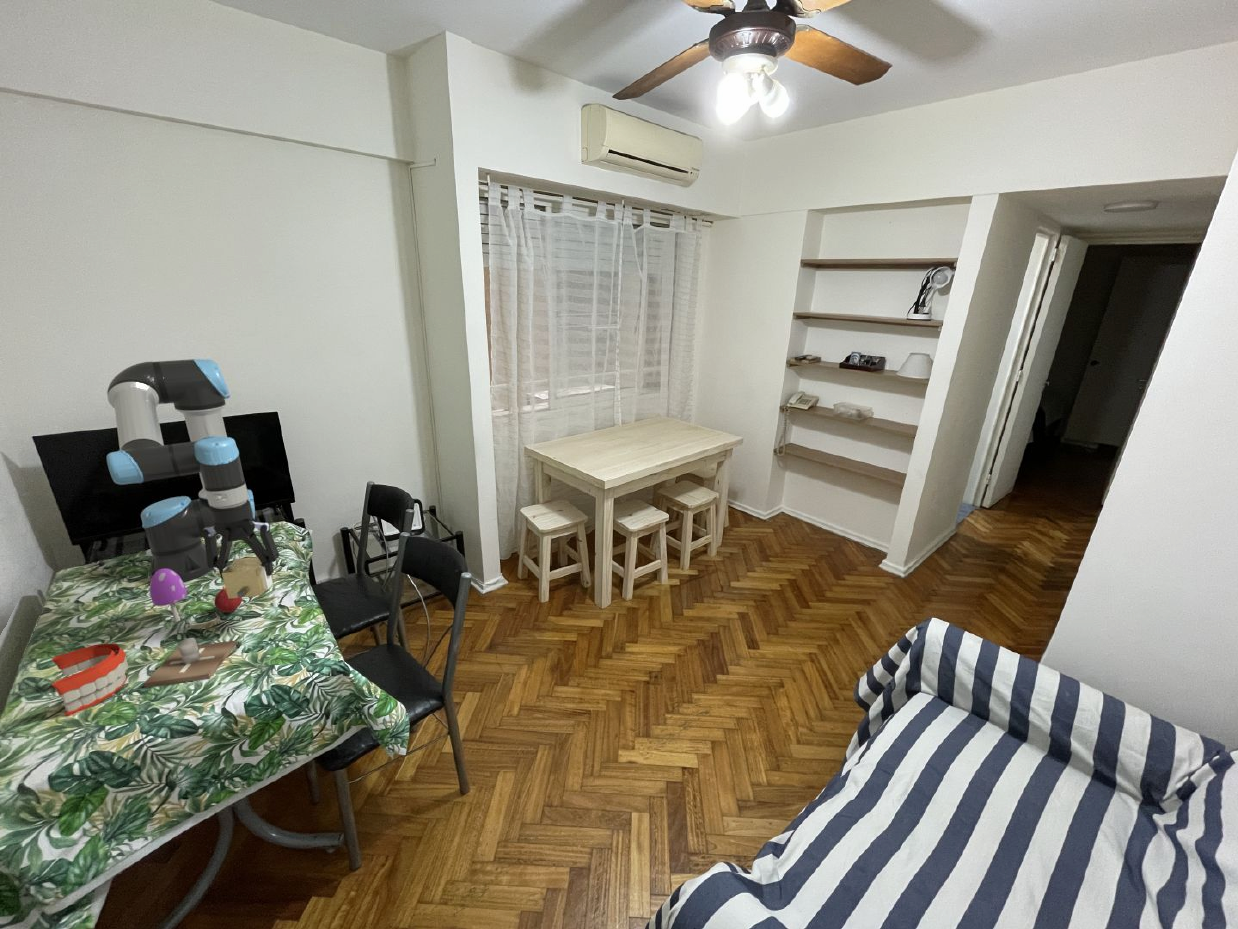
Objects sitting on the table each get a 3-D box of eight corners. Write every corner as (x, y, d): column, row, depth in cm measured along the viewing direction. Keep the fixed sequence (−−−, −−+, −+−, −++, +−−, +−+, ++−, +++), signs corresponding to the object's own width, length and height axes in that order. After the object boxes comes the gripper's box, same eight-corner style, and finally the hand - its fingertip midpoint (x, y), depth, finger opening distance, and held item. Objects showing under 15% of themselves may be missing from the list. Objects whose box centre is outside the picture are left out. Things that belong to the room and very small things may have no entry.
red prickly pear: (249, 609, 133) (242, 583, 131) (224, 620, 129) (216, 594, 126) (238, 603, 136) (232, 578, 134) (214, 614, 132) (206, 588, 129)
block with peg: (245, 580, 127) (239, 556, 125) (275, 577, 128) (270, 553, 126) (225, 602, 117) (218, 576, 115) (258, 598, 119) (252, 573, 117)
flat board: (178, 652, 117) (171, 630, 115) (236, 644, 119) (230, 622, 118) (145, 688, 106) (136, 664, 104) (209, 678, 108) (202, 655, 106)
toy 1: (136, 691, 105) (125, 659, 103) (65, 719, 98) (51, 686, 95) (130, 664, 113) (120, 634, 111) (64, 688, 106) (51, 657, 103)
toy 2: (174, 629, 125) (157, 577, 121) (153, 626, 126) (136, 574, 122) (200, 614, 131) (185, 564, 127) (180, 611, 133) (165, 562, 128)
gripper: (170, 512, 110) (196, 601, 117) (271, 505, 114) (290, 591, 121) (189, 500, 117) (213, 584, 124) (283, 494, 121) (301, 576, 128)
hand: (251, 588), depth 123 cm, fingers closed on block with peg, 7 cm apart
